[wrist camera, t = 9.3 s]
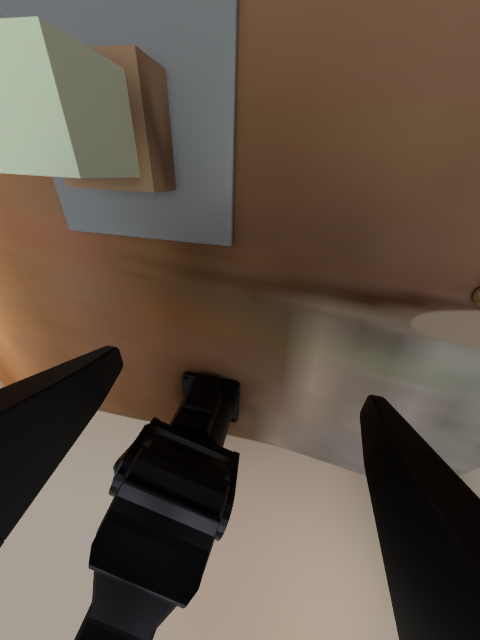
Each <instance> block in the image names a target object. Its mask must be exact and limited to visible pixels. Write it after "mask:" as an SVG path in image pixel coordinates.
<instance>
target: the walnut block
mask: <svg viewBox="0 0 480 640" xmlns="http://www.w3.org/2000/svg"><path fill="white" fill-rule="evenodd" d="M90 48H91V49H93V50H95V51H96V52H98V53H100V54H101V55H103V56H105V57H106V58H108V59H110V60H111V61H113V62H115V63H116V64H118V65H120V66H121V67H123V68H124V70H125V76H126V83H127V90H128V96H129V103H130V110H131V116H132V123H133V130H134V136H135V143H136V150H137V156H138V163H139V170H140V178H67V177H64V179H65V182H66V185H67V187H77V188H92V189H107V190H122V191H137V192H152V193H155V192H164V191H172V190H176V180H175V169H174V157H173V146H172V135H171V123H170V112H169V100H168V89H167V77H166V69H165V68H164V67H163V66H161V65H160V64H159V63H158V62H156V61H155V60H154V59H152V58H151V57H150V56H149V55H147V54H146V53H145V52H143V51H142V50H141V49H140V48H138V47H137V46H136V45H115V46H91V47H90Z"/></svg>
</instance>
